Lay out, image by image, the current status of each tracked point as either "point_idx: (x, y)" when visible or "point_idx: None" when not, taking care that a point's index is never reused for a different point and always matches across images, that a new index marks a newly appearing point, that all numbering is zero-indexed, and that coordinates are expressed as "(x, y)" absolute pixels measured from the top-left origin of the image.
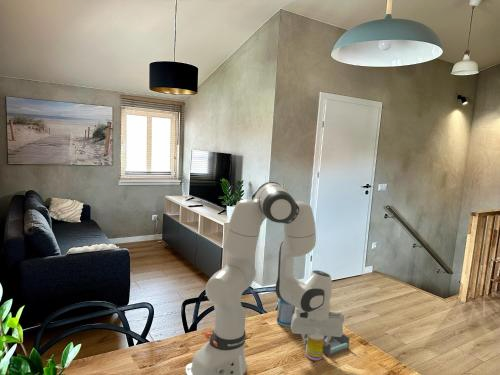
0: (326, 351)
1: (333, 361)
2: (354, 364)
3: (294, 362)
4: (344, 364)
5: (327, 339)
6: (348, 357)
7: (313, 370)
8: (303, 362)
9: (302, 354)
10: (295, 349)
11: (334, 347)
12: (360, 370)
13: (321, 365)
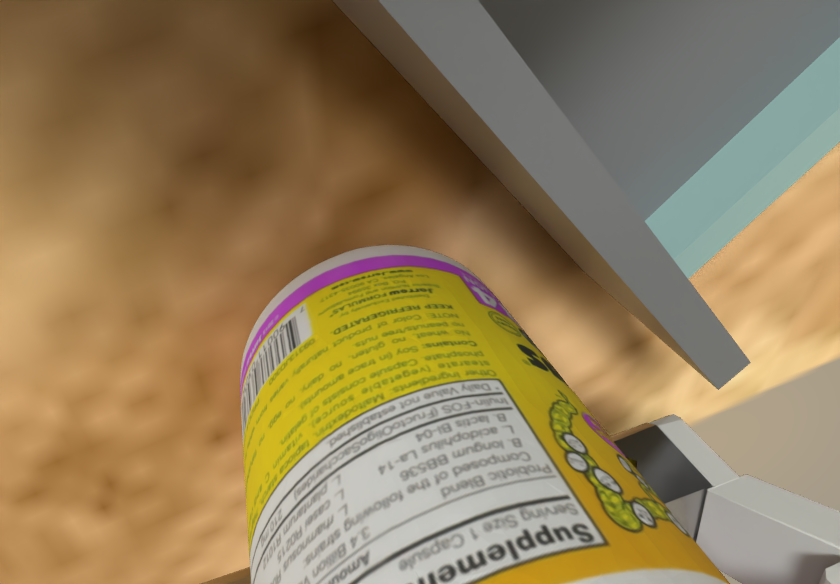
0: (582, 265)
1: (619, 343)
2: (828, 293)
3: (126, 577)
4: None
5: (759, 580)
6: (829, 185)
7: None
8: (246, 524)
9: (187, 393)
10: (4, 322)
11: (752, 199)
12: (835, 358)
13: None
